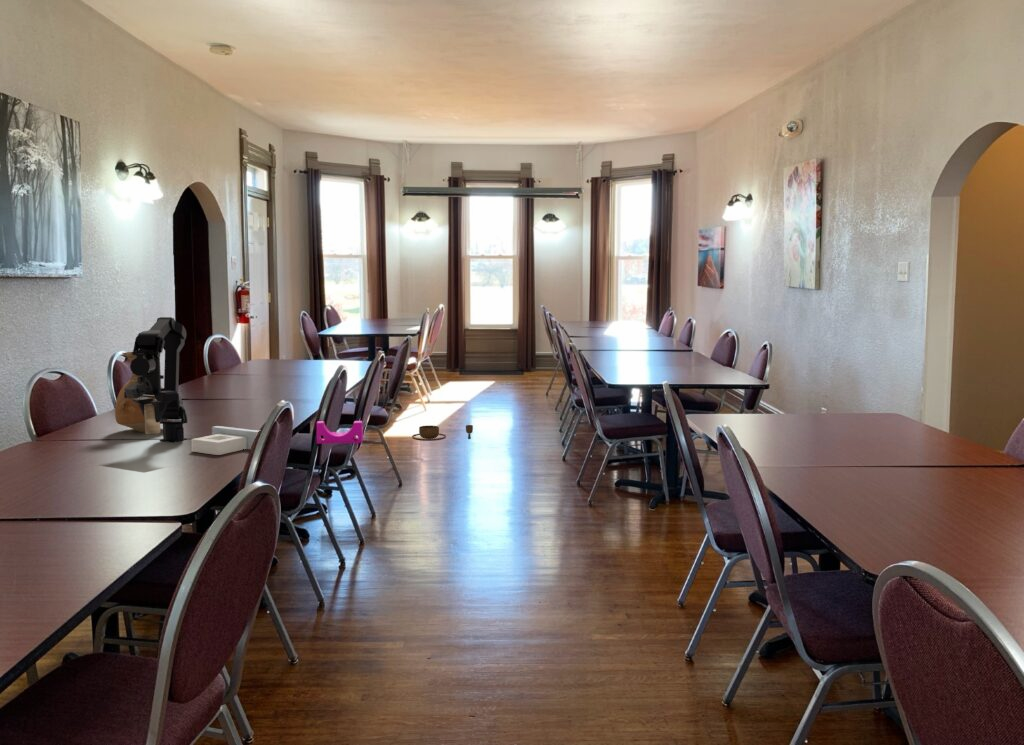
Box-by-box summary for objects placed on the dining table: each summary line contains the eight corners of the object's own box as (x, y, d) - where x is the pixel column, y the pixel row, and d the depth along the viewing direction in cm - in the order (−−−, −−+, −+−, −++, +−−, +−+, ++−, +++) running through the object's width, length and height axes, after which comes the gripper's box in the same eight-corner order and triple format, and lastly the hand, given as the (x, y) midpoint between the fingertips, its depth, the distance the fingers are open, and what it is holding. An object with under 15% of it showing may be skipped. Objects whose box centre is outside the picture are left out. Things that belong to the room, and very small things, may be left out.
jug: (123, 440, 300) (120, 353, 297) (106, 432, 314) (103, 349, 311) (181, 433, 313) (178, 350, 310) (162, 426, 327) (159, 347, 324)
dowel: (142, 433, 275) (140, 405, 274) (153, 431, 279) (152, 403, 278) (152, 434, 273) (150, 406, 272) (163, 432, 277) (162, 404, 276)
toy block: (363, 441, 302) (363, 419, 301) (361, 444, 296) (361, 422, 295) (319, 441, 301) (319, 420, 300) (316, 444, 294) (316, 423, 294)
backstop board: (212, 444, 293) (211, 426, 292) (218, 443, 295) (217, 425, 294) (256, 450, 283) (256, 432, 283) (262, 448, 286) (261, 430, 285)
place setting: (434, 435, 316) (434, 419, 315) (476, 441, 304) (476, 425, 303) (399, 442, 303) (399, 425, 302) (441, 449, 290) (441, 431, 289)
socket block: (191, 451, 280) (191, 439, 280) (220, 445, 291) (219, 433, 290) (218, 455, 274) (218, 442, 274) (246, 448, 285) (246, 436, 285)
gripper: (108, 373, 271) (110, 422, 273) (149, 376, 263) (151, 427, 264) (138, 370, 281) (140, 418, 283) (179, 373, 272) (181, 422, 274)
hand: (152, 421), depth 276 cm, fingers closed on dowel, 4 cm apart
